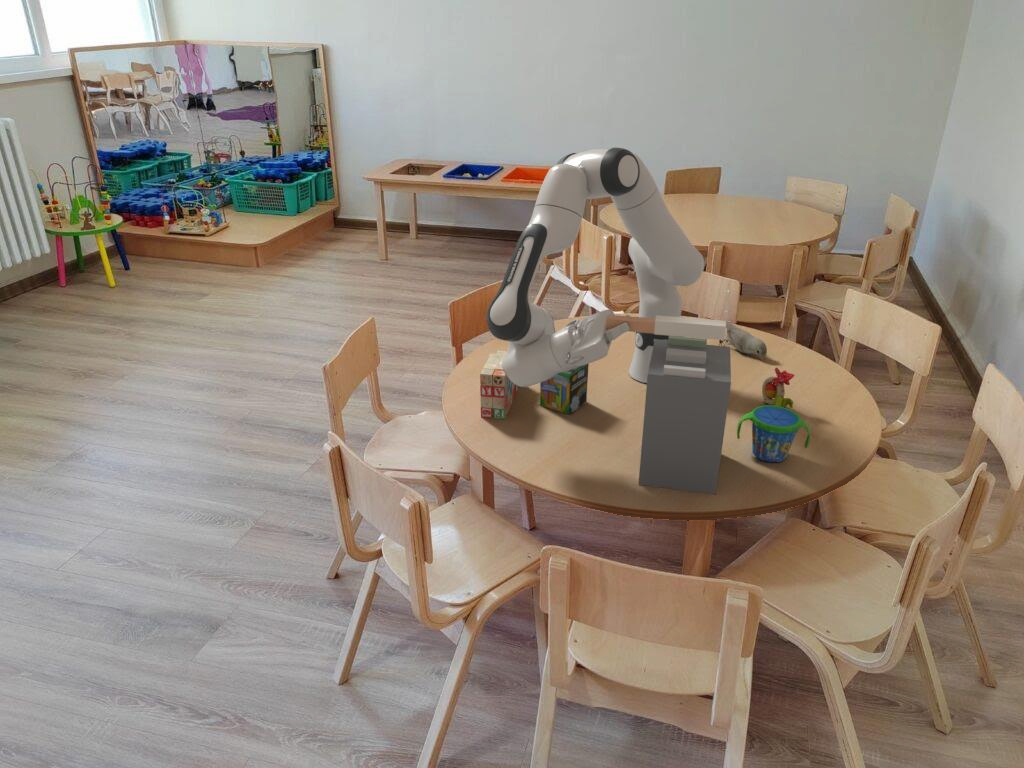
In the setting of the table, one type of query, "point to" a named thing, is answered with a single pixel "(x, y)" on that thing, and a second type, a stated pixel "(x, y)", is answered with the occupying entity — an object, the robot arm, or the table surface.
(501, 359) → the stack of blocks
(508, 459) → the table surface
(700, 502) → the table surface
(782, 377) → the bird rattle
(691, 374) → the cabinet
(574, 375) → the chalk box
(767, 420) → the snack cup
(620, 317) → the lever bar
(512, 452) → the table surface
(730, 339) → the decorative bird
